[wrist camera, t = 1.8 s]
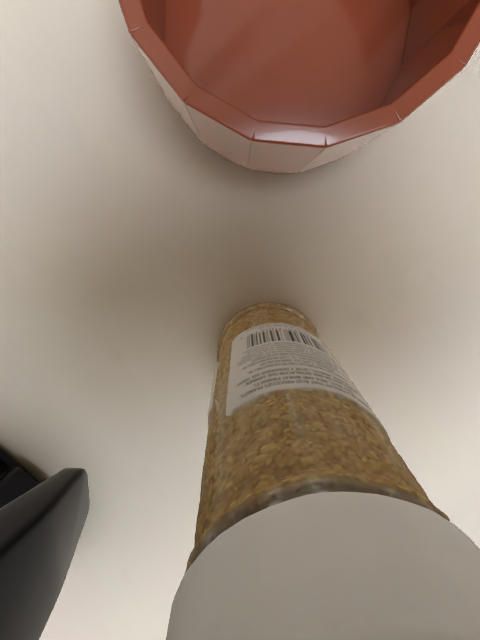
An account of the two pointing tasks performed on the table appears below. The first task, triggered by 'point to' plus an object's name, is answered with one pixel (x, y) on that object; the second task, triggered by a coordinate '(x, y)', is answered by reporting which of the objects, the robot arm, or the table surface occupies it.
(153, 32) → the cup
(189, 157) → the table surface
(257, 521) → the sprinkles bottle
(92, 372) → the table surface
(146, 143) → the table surface
